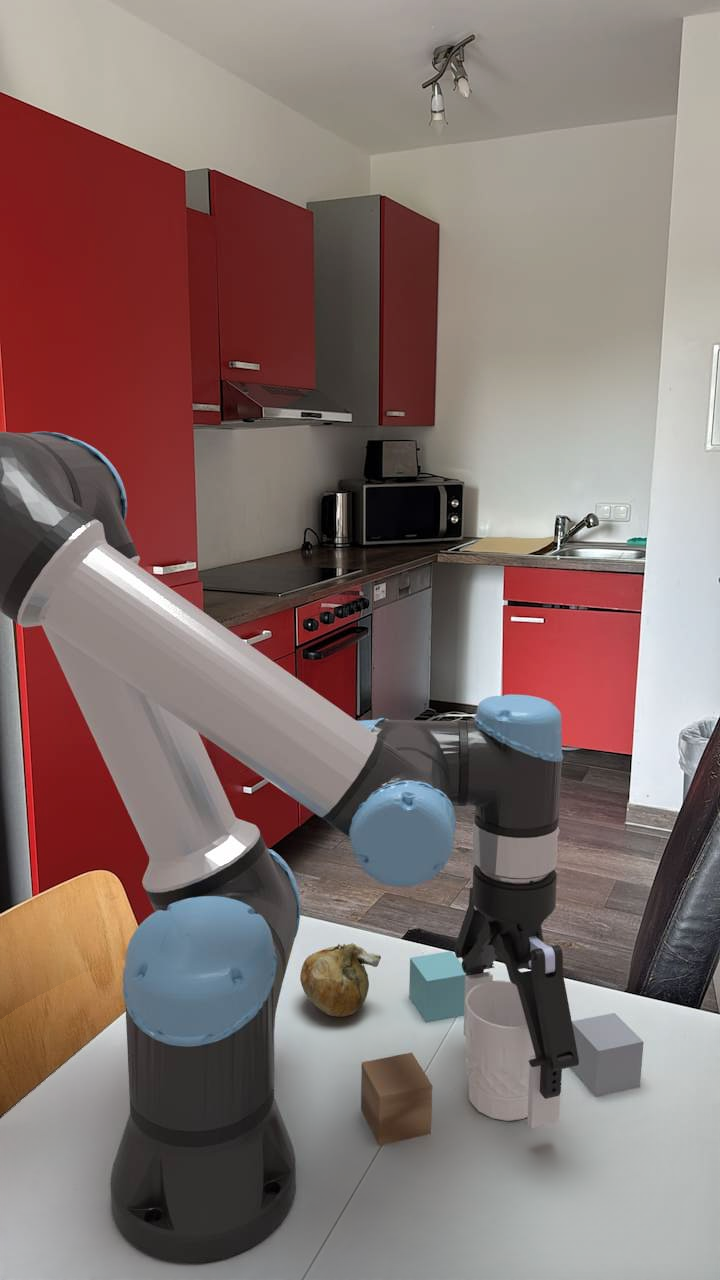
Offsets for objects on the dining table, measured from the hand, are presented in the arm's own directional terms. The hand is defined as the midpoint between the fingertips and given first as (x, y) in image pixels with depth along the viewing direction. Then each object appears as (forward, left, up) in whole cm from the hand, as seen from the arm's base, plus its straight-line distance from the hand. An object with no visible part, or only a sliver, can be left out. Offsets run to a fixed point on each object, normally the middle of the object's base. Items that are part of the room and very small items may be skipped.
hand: (507, 1075), depth 91 cm
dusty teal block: (0, +16, -3) cm, 16 cm away
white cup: (0, 0, -3) cm, 3 cm away
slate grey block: (+11, 0, -3) cm, 11 cm away
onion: (-11, +19, -3) cm, 22 cm away
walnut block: (-11, 0, -3) cm, 12 cm away
